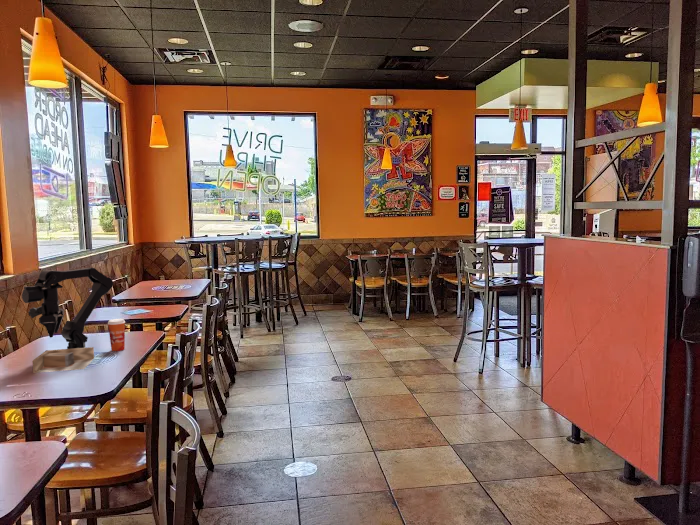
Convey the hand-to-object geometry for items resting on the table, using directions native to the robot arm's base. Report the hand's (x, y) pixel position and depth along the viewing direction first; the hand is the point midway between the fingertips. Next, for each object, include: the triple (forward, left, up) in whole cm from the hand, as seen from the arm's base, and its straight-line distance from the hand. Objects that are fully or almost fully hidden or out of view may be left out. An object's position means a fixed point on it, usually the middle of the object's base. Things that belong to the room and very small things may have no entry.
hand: (53, 335), depth 230 cm
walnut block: (-4, +11, -11) cm, 16 cm away
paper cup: (-23, -13, -12) cm, 29 cm away
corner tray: (-7, +11, -11) cm, 18 cm away
